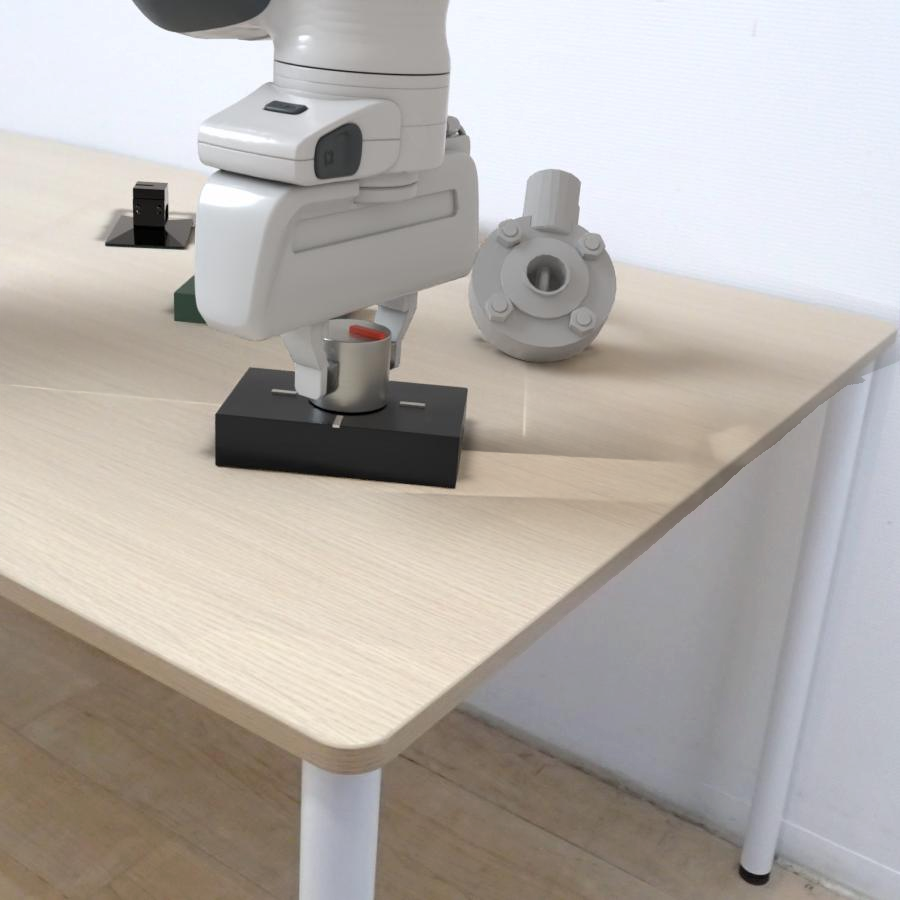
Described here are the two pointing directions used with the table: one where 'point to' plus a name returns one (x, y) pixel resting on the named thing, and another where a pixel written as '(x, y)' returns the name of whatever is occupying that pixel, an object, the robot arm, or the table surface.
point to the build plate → (150, 221)
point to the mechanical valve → (543, 276)
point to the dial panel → (343, 432)
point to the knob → (357, 365)
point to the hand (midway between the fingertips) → (348, 381)
